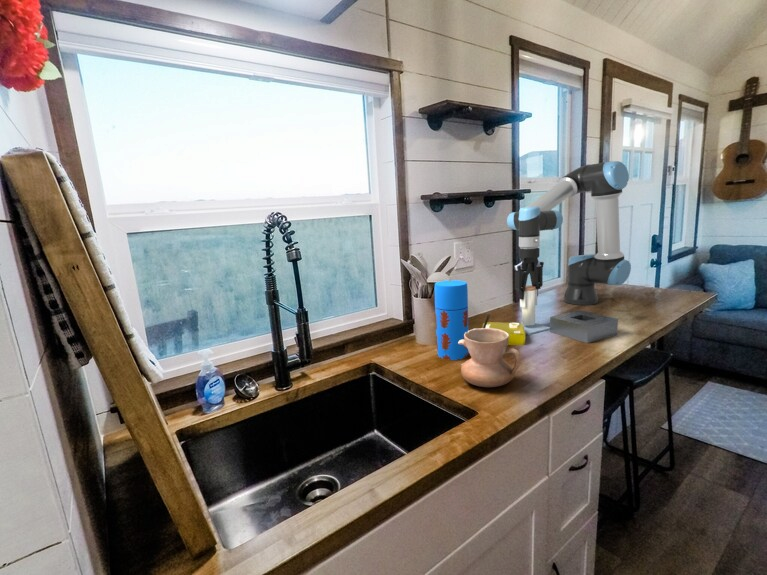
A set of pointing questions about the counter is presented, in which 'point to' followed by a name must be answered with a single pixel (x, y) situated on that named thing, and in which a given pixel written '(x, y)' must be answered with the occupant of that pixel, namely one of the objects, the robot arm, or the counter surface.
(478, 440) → the counter surface
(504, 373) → the ceramic jug
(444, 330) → the thermos
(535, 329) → the mat
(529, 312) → the white cylinder
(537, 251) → the robot arm
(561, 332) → the block
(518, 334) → the element tile
